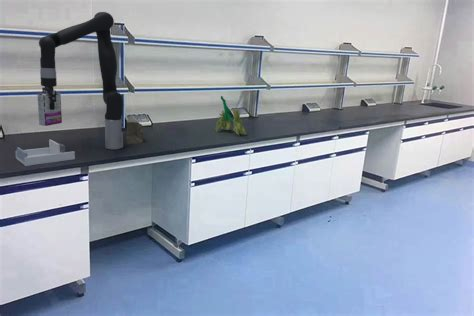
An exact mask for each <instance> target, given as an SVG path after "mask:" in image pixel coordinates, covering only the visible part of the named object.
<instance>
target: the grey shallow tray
mask: <svg viewBox="0 0 474 316" xmlns="http://www.w3.org/2000/svg"><path fill="white" fill-rule="evenodd" d="M75 153H76V151H65V153H57V154H51V153H50V150H49V147H41V148H39V147H38V148H31V149H22V148H21V147H18V146H17V147H16V150H15V159H16V160H17V161H18V162H20V163H21V164H23V166H25V167H29V166H34V165H35V166H36V165H42V164H52V163H57V162H65V161H72V160H76V154H75Z"/></svg>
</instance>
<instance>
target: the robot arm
mask: <svg viewBox="0 0 474 316" xmlns="http://www.w3.org/2000/svg"><path fill="white" fill-rule="evenodd" d="M114 23H115V19H114V17H113V15H112V14H111V13H109V12H106V11H99V12H97V13H95V15H94V17H93V18H91V19H89V20H87V21H83V22H81V23H77V24H75V25H72V26H69V27H66V28H63V29H61V30H58V31H57V32H55V33H51V34H48V35H46V36H43V37H42V36H41V38H39V40H38V46H39V48H40V49H39V50H40V60H39V61H40V62H39V65H40V70H39V73H40V86H41V87H42V88H41V89H42V94H43V93H46V94H50V95H51V97H50V96H49V97H48V98H49V102H50V110H54V109H55V106H54V103H55V102H56V93H57V90H54V87H57V85H58V84H57V83H58V82H57V69H56V48H59V47H60V46H63V45H64V46H65V45H68V44H71V43H73V42H75V41H78V40H79V39H81V38H84V37H86V36H89V35H90V34H93V33H96V39H97V40H96V41H97V52H98V61H99V70H100V75H101V79H102V80H101V81H102V101H103V102H104V104H105V107H106V112H105V114H104V133H105V134H104V142H105V143H104V147H105V149H108V150H120V149H123V148H124V131H122V122H123V121H122V116H123V114H124V111H123V110H124V107H123V106H124V99H123V95H122V94H121V93H120V92H118V89H117V84H116V83H117V82H116V77H117V71H118V61H117V55H116V51H115V47H114V45H113V41H112V36H111V35H112V34H111V29H112V28H113V26H114ZM50 98H51V99H50ZM52 99H53V100H52Z"/></svg>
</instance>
